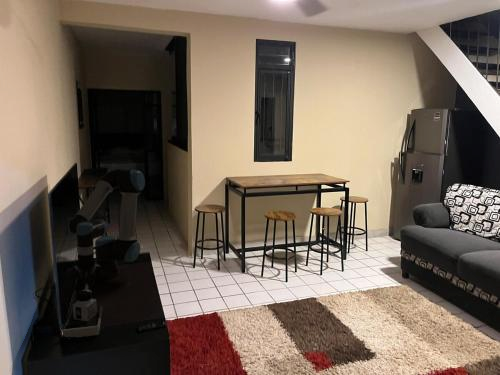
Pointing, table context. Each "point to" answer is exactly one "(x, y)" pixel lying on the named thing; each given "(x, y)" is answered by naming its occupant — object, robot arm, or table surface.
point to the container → (84, 306)
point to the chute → (83, 328)
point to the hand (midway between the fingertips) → (87, 297)
